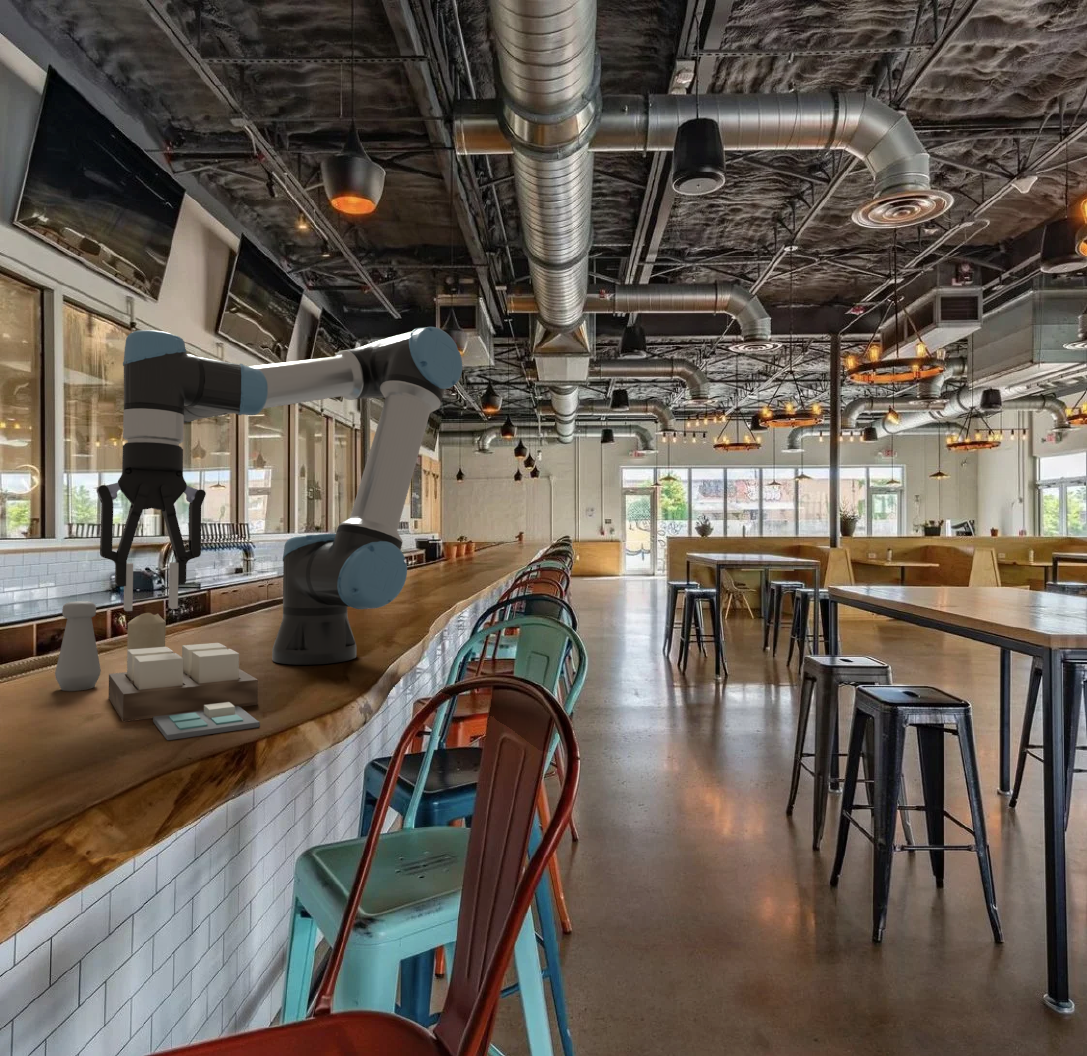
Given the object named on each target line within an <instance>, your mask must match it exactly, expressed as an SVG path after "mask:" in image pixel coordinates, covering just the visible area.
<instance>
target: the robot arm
mask: <svg viewBox="0 0 1087 1056" xmlns="http://www.w3.org/2000/svg"><path fill="white" fill-rule="evenodd" d="M124 344H125V345H124V350H123V351H124V353H123V362H122V366H123V418H122V419H123V420H122V421H123V423H122V425H123V426H122V430H123V431H122V438H123V439H124V440H126V441H127V442H124V445H122V454H121V455H122V463H121V465H122V469H121V475H120V477H119V478H118V481H117V482H115V483H111V484H107V485H103V484H102V485H100V486H98V487H97V488H96V493H97V496H98V499H99V501H100V504H101V505H100V537H99V538H100V539H99V540H100V542H99V554H100V555H99V556H100V557H101V558H103V559H106V560H109V561H112V562H113V563H114V565H115V568H114V570H115V571H114V583H115V585H116V586H117V587H123V610H124V611H125V612H133V604H134V603H133V602H134V601H133V598H134V597H133V595H134V591H133V590H134V562H128V558H129V554H130V550H131V549H132V545H133V542H134V538H135V534H136V531H137V529H138V525H139V523H140V519H141V516H142V513H143V510H151V509H153V510H158V511H161V514H162V517H163V518H164V522H165V527H166V530H167V533H168V538H169V541H170V546H171V550H172V553H173V557H174V559H175V562H173V561H171V562H168V608H169V609H172V610H175V609H176V610H177V609H179V585H186V582H187V564H188V562H189V561H191V560H192V559H197V558H200V557H201V555H202V505H203V502H204V500H205V498H206V496H207V495H206V494H207V492H206V490H204V489H198V488H194V487H192V486H189V485H187V482H186V480H185V478H184V448H182V446H181V445H180V444H182V443H183V442H184V433H185V432H184V425H185V424H184V423H190V422H193V421H195V420H196V421H197V420H202V419H208V418H215V417H219V416H226V415H231V414H235V415H237V416H242V415H245V416H256V415H258V414H260V413H261V412H262V411H263V410H265V409H270V408H275V407H281V406H282V407H283V406H288V405H296V404H301V403H306V402H307V403H308V402H315V401H320V400H326V399H332V398H339V397H342V398H344V399H346V400H349V401H353V400H359V399H360V400H361V399H374V398H375V399H376V398H377V399H379V398H380V399H381V398H384V399H385V400H384V402H383V406H382V410H381V412H380V415H379V416H380V417H379V420H378V422H377V427H376V429H375V433H374V436H373V439H372V444H371V447H370V450H369V454H368V456H367V460H366V463H365V467H364V469H363V473H362V476H361V480H360V483H359V486H358V490H357V492H356V493H357V494H356V497H355V500H354V502H353V503H354V504H353V506H352V510H351V514H350V515H349V516H350V517H349V518H347V519H346V520H344V521H342V522H341V523H339V524H338V526H337V529H336V533H313V534H304V535H298V536H293V537H290V538H288V539H287V540H286V542H285V543H284V545H283V546H284V548H283V555H282V562H283V564H282V565H283V568H282V569H283V572H282V573H283V574H282V575H283V576H282V577H283V579H282V580H283V581H282V584H283V585H282V590H283V591H282V603H283V604H282V619H281V620H282V621H281V622H280V626H279V629H278V631H277V635H276V638H275V640H274V643H273V646H272V649H271V650H272V651H271V652H272V653H271V654H272V655H271V656H272V657H271V659H272V661H273V662H274V663H278V664H283V665H297V666H298V665H300V666H301V665H305V666H307V665H310V666H311V665H326V664H327V665H328V664H335V663H336V664H337V663H344V662H347V661H351V660H353V659H356V658H357V642H356V640H355V637H354V633H353V631H352V627H351V624H350V621H349V617H348V608H353V609H356V610H368V609H369V610H370V609H379V608H382V607H385V606H386V605H388V604H390V603H391V602H392V601H394V600H395V599H396V598H397V597H398V596H399V594H400V593H401V592H402V591H403V588H404V586H405V583H406V580H407V575H408V565H407V563H406V562H405V559H406V557H405V555H404V553H403V552H402V546H403V539H402V538H401V536H400V534H399V532H398V529H399V525H400V522H401V518H402V514H403V510H404V507H405V504H406V500H407V497H408V493H409V489H410V485H411V483H412V478H413V474H414V472H415V467H416V464H417V461H418V456H419V453H420V450H421V446H422V443H423V438H424V435H425V432H426V429H427V424H428V420H429V418H430V414H431V413H433V412H435V411H437V410H439V409H440V407H441V404H442V400H443V397H444V394H445V391H446V389H447V390H448V389H451V388H452V387H453V386H455V385H457V383H458V382H459V381H460V379H461V377H462V373H463V359H462V354H461V352H460V351H459V348H458V345H457V343H456V342H455V340H454V339H453V338H452V336H450V334H449V333H447V332H446V331H444V330H443V329H441V328H439V327H435V326H427V327H426V326H425V327H416V328H414V329H413V330H412V331H408V332H405V333H401V334H400V333H399V334H396V335H393V336H389V337H386V338H382V339H379V340H376V341H373V342H371V343H368V344H365V345H363V346H358V347H356V348H352V349H344V350H342V349H341V350H339V351H337V353H336V354H335V355H334V356H329V357H320V358H311V359H303V360H293V361H286V362H276V363H268V364H260V365H250V366H248V365H245V364H243V363H234V362H228V361H224V360H218V359H213V358H207V357H201V356H196V355H193V354H190V353H187V349H186V343H185V340H184V339H183V338H182V337H180V336H179V335H175V334H173V333H170V332H166V331H161V330H152V329H151V330H150V329H149V330H148V329H143V330H142V329H141V330H140V329H139V330H136V331H133V332H131V333H129V334H128V335H127V336H126V339H125V343H124ZM119 491H121V492H122V494H123V495H124V496H125V497H126V499H127V500H128V501H129V503H130V507H129V509H128V514H127V516H126V517H127V518H126V521H125V524H124V527H123V531H122V534H121V537H120V540H119V544H118V547H117V550H116V551H114V550H113V538H114V537H113V535H114V534H113V533H114V500H115V499H117V498H118V492H119ZM183 494H185V497H186V498H185V499H186V501H187V502H188V503H189V505H188V550H186V547H185V543H184V540H183V536H182V532H181V528H180V524H179V521H178V517H177V510H176V506H175V503H176V502H177V501H178V500H179V499H180V497H181V496H182V495H183Z"/></svg>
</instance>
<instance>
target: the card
mask: <svg viewBox="0 0 1087 1056" xmlns="http://www.w3.org/2000/svg"><path fill="white" fill-rule="evenodd" d="M152 723H153V724H154V725H155V726H156V728H157V729H158V731H160V733H161V734H162V735H163V737H164V738H165V740H167V741H172V740H179V739H185V738H192V737H200V736H207V735H212V734H213V735H214V734H219V733H227V732H232V731H240V730H241V731H242V730H248V729H253V728H254V729H255V728H259V727H260V721H259V720H258V719H256V718H255V717H254V716H252V715H251V714H250V713H248V712H247V711H246V710H244V709H243V708H242V707H239V706H234V705H232V704H231V703H230V702H225V703H217V704H208V705H204V710H202V711H194V712H186V713H178V714H171V715H163V716H155V717H153V718H152Z"/></svg>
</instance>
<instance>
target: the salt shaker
mask: <svg viewBox="0 0 1087 1056" xmlns="http://www.w3.org/2000/svg"><path fill="white" fill-rule="evenodd" d="M61 609H62V610H61V612H62V613H61V614H62V617H63V618H65V619H66V624H65V628H64V633H63V637H62V640H61V641H62V642H61V645H60V650H59V655H58V659H57V664H56V668H55V672H54V676H55V680H56V682H57V684H58V685H59V686H58V687H60V690H61V691H66V692H77V691H83V690H84V691H86V690H90V689H92V688H93V689H94V688H95V686H96V684H97V682H98V679H99V678H100V675H101V672H102V670H101V665H100V664H101V663H100V658H99V654H98V653H99V652H98V648H97V643H96V637H95V632H94V631H95V630H94V626H93V619H92V618H93V617H95V616H96V614H97V605H96V604H95V603H94V602H93V601H87V600H79V601H78V600H77V601H68V602H65V604H63V606H62V608H61Z"/></svg>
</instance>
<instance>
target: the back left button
mask: <svg viewBox="0 0 1087 1056" xmlns="http://www.w3.org/2000/svg"><path fill="white" fill-rule="evenodd" d="M221 649H228V646H225V644H222V643H220V642H212V643H211V642H210V643H199V644H186V645H185V644H184V645H181V657H182V658H183V672H184V673H185V674H187V675H192V652H196V651H208V650H221Z"/></svg>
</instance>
